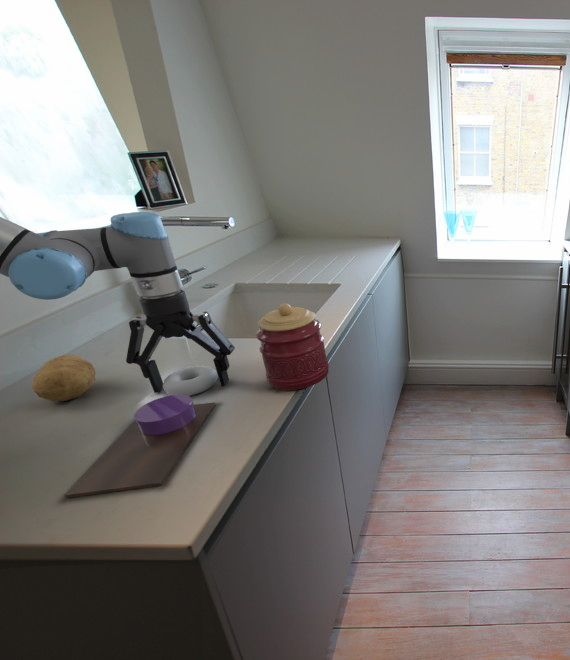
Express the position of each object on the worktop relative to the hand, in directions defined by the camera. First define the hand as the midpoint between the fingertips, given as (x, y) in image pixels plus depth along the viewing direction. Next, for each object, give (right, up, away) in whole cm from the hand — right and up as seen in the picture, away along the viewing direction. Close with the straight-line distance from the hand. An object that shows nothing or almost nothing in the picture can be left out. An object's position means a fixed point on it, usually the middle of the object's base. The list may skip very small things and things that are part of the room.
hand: (192, 386), depth 96 cm
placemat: (+5, -8, -18) cm, 20 cm away
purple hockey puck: (+4, -5, -12) cm, 14 cm away
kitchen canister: (+22, +2, +4) cm, 22 cm away
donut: (0, 0, 0) cm, 0 cm away
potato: (-24, -2, -2) cm, 24 cm away
